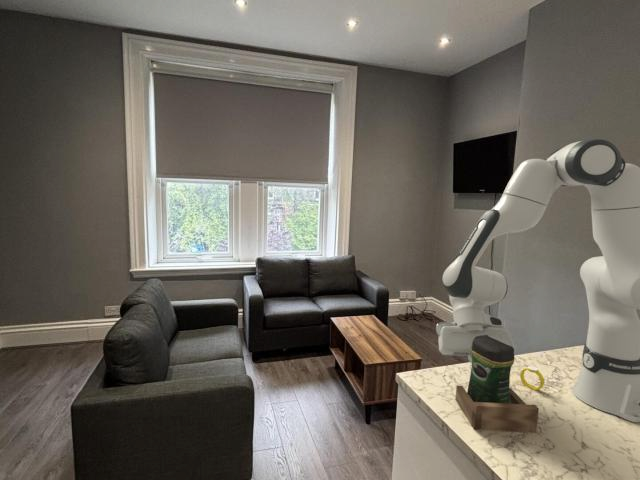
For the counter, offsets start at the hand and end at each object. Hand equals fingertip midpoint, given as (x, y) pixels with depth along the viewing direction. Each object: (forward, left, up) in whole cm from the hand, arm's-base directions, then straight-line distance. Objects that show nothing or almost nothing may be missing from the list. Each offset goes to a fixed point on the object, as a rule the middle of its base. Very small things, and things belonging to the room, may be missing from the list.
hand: (481, 372), depth 91 cm
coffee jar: (0, +5, -8) cm, 9 cm away
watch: (-18, -7, -8) cm, 20 cm away
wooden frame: (0, +6, -7) cm, 10 cm away
